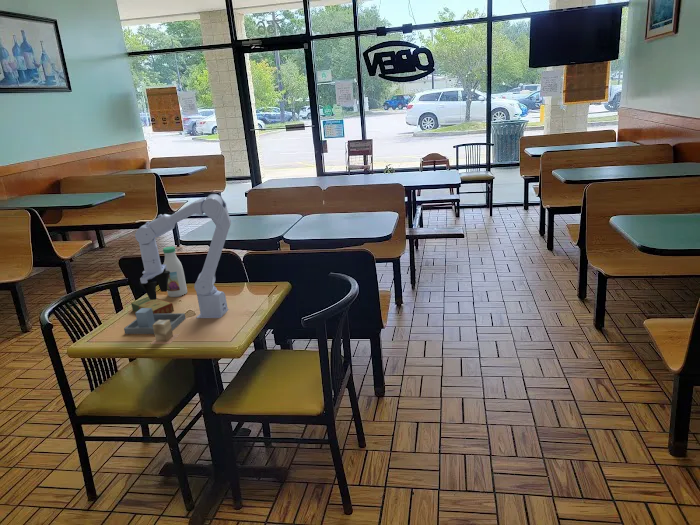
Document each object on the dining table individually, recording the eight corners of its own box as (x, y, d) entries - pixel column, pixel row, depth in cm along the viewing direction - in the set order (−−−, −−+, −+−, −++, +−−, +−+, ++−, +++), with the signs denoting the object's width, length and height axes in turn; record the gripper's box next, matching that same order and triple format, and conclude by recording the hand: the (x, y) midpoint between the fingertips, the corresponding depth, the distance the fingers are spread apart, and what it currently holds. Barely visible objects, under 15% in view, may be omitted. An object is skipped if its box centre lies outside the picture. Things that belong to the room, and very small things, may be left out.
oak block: (173, 336, 174) (169, 319, 172) (167, 341, 170) (163, 324, 168) (162, 336, 175) (158, 319, 173) (156, 341, 171) (152, 324, 169)
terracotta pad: (180, 335, 175) (180, 334, 175) (170, 345, 169) (169, 343, 169) (161, 335, 177) (161, 334, 176) (150, 345, 170) (150, 343, 170)
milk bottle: (179, 289, 220) (170, 244, 214) (191, 292, 215) (182, 246, 209) (164, 296, 214) (154, 249, 208) (175, 298, 209) (166, 251, 203)
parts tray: (185, 319, 188) (184, 313, 187) (169, 335, 176) (167, 328, 176) (144, 319, 191) (143, 313, 190) (125, 335, 179) (123, 328, 179)
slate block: (155, 323, 186) (151, 308, 184) (149, 328, 182) (145, 312, 180) (144, 323, 186) (141, 308, 185) (138, 328, 183) (135, 312, 181)
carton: (155, 321, 190) (152, 310, 189) (132, 312, 200) (129, 302, 199) (174, 312, 196) (172, 302, 195) (151, 304, 206) (149, 294, 205)
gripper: (151, 253, 189) (158, 288, 193) (129, 266, 176) (137, 303, 180) (169, 252, 188) (176, 287, 192) (148, 265, 174) (156, 303, 178)
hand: (158, 295), depth 186 cm, fingers open, 7 cm apart
